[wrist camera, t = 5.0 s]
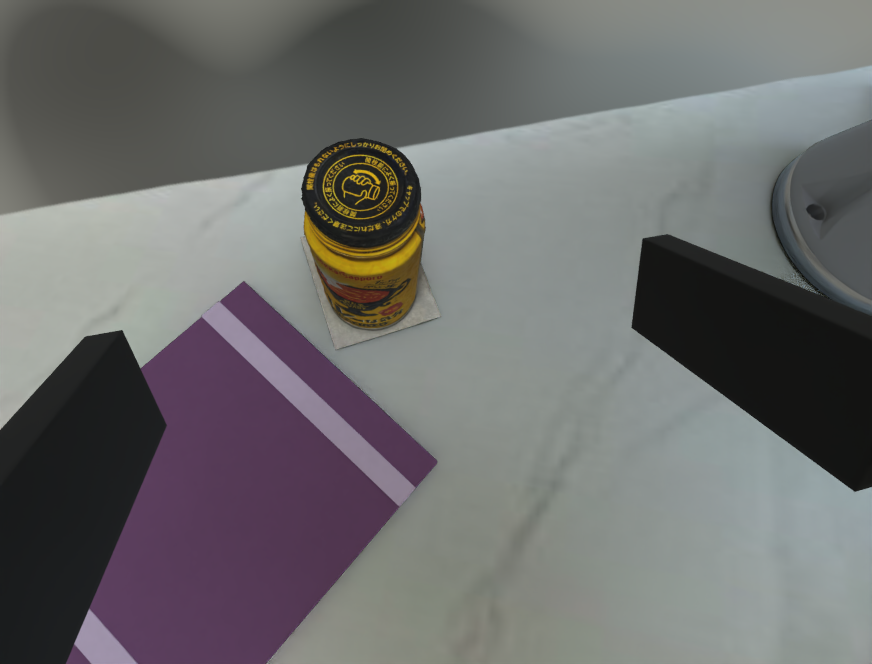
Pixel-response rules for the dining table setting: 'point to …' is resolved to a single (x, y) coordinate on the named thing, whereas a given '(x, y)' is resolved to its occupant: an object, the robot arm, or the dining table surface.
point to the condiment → (366, 240)
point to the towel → (245, 495)
